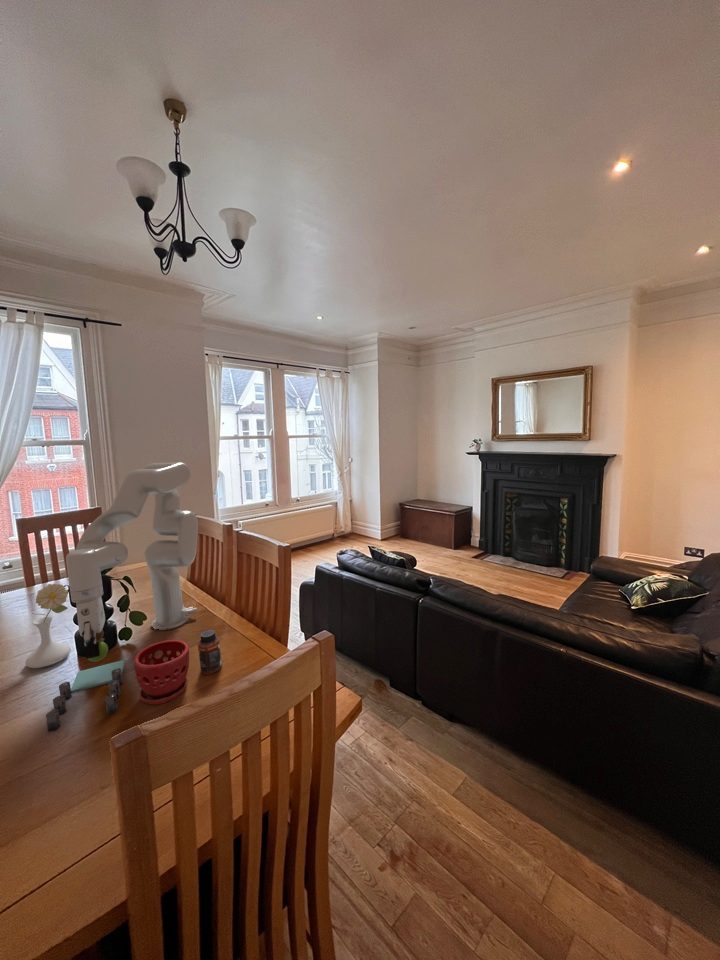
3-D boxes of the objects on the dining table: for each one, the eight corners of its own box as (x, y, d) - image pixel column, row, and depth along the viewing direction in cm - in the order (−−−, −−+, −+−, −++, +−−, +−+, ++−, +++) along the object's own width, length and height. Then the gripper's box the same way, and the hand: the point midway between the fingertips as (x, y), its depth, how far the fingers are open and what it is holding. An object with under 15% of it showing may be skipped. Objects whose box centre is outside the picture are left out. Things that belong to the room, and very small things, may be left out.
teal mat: (124, 661, 120) (124, 659, 120) (120, 679, 112) (120, 677, 111) (78, 673, 115) (77, 671, 115) (70, 693, 106) (70, 691, 106)
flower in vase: (20, 676, 115) (7, 597, 112) (32, 657, 125) (19, 584, 122) (74, 662, 121) (62, 587, 118) (80, 645, 131) (70, 575, 128)
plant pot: (157, 716, 96) (151, 672, 95) (129, 698, 103) (123, 657, 102) (202, 685, 107) (198, 645, 106) (174, 671, 114) (170, 634, 113)
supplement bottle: (226, 664, 117) (222, 629, 115) (212, 676, 111) (209, 640, 110) (210, 661, 119) (206, 626, 117) (196, 673, 113) (192, 637, 111)
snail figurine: (90, 655, 115) (85, 617, 114) (112, 653, 116) (108, 616, 114) (78, 666, 110) (73, 627, 108) (102, 664, 110) (97, 625, 109)
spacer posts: (123, 680, 111) (121, 667, 111) (117, 712, 98) (115, 697, 98) (62, 697, 105) (60, 683, 104) (47, 733, 92) (44, 718, 92)
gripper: (97, 600, 104) (105, 663, 106) (107, 579, 119) (114, 635, 122) (63, 607, 101) (72, 671, 103) (77, 585, 116) (85, 641, 118)
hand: (95, 651), depth 112 cm, fingers closed on snail figurine, 5 cm apart
